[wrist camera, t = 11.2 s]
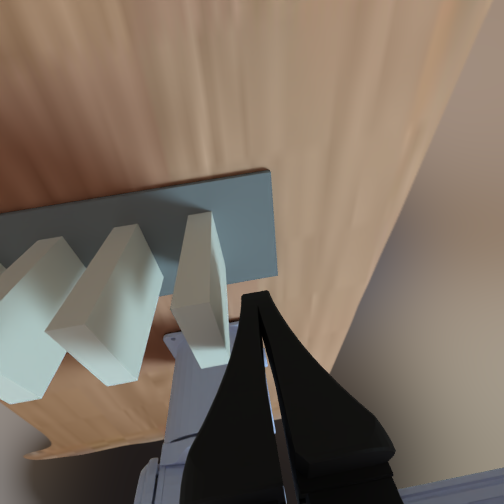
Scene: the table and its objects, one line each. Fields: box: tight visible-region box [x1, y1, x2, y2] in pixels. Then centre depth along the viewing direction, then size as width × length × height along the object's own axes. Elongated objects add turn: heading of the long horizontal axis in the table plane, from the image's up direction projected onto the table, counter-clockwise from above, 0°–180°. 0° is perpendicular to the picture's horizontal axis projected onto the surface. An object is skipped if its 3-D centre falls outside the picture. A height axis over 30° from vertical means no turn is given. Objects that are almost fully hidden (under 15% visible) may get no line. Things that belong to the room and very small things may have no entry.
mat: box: [0, 170, 278, 296], centre depth 17 cm, size 27×9×1 cm, turn 97°
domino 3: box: [170, 211, 230, 369], centre depth 14 cm, size 2×5×8 cm, turn 7°
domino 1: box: [0, 236, 86, 404], centre depth 14 cm, size 2×5×8 cm, turn 7°
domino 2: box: [44, 224, 164, 386], centre depth 14 cm, size 2×5×8 cm, turn 7°
